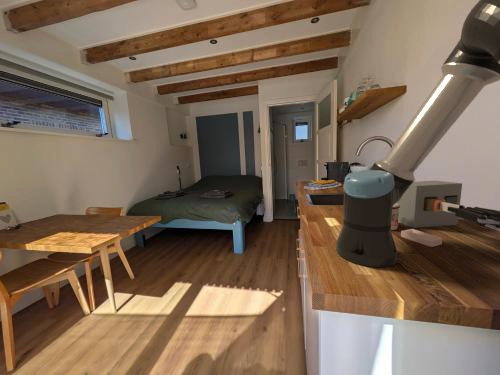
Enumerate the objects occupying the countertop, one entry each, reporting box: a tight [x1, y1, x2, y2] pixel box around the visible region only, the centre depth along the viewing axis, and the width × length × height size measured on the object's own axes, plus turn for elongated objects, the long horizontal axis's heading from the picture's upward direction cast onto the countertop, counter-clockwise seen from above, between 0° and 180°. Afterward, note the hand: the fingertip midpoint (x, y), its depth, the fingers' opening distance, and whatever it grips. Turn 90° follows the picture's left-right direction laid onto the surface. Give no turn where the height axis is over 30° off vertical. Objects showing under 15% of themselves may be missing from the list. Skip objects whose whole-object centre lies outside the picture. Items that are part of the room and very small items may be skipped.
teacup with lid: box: [391, 203, 400, 231], centre depth 78 cm, size 12×9×12 cm
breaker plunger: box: [424, 197, 446, 212], centre depth 76 cm, size 4×10×4 cm, turn 4°
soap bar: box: [400, 228, 443, 248], centre depth 65 cm, size 5×9×2 cm, turn 17°
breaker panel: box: [397, 180, 463, 229], centre depth 79 cm, size 18×10×16 cm, turn 94°
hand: (442, 206), depth 71 cm, fingers closed
